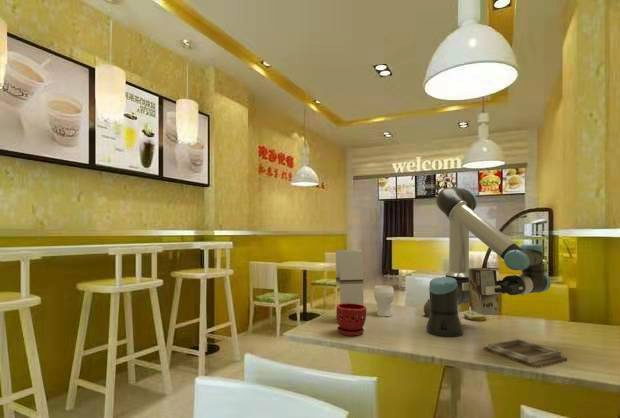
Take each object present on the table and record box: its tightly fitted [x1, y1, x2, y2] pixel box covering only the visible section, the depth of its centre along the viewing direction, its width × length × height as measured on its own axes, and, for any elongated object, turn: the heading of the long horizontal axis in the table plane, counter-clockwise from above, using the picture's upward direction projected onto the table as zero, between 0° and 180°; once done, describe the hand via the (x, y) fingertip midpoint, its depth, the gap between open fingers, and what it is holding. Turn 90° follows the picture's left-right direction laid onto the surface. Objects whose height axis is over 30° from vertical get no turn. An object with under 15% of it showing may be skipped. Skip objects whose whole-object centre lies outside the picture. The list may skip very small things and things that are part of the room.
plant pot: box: [336, 303, 367, 336], centre depth 157 cm, size 13×13×12 cm
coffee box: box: [468, 267, 500, 316], centre depth 132 cm, size 9×6×16 cm
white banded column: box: [335, 249, 364, 320], centre depth 179 cm, size 11×11×35 cm
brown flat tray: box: [483, 338, 568, 369], centre depth 127 cm, size 20×16×2 cm
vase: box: [423, 298, 430, 318], centre depth 186 cm, size 7×7×9 cm
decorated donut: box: [462, 309, 487, 322], centre depth 181 cm, size 10×11×4 cm
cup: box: [373, 285, 395, 317], centre depth 190 cm, size 11×11×15 cm
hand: (474, 288), depth 130 cm, fingers closed on coffee box, 10 cm apart
